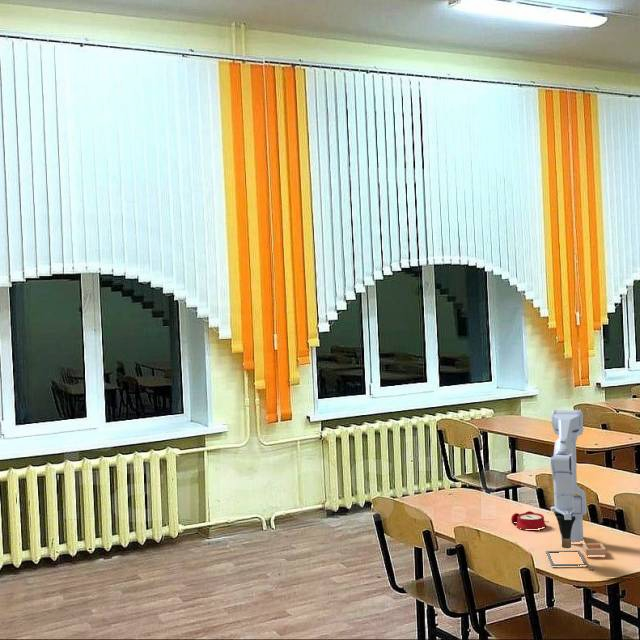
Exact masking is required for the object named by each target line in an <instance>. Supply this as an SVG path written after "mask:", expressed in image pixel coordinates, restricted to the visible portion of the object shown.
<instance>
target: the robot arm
mask: <svg viewBox="0 0 640 640" xmlns="http://www.w3.org/2000/svg"><path fill="white" fill-rule="evenodd" d="M551 426H552V427H551V428H552V429H553V432H554V435H557V436H558V439H556V440H555V442H554V446H553V447H554V448H553V455H552V456H551V457H550V471H551V474H552V475H551V476H552V477H551V479H552V480H553V500H554V501H553V503H554V506H551V507H550V510H551V511H552V512H553V511H554V512H553V514H554V516H555V518H556V521H557V523H558V528H559V532H560V534H561V533H562V537H563V539H570V536H571V542H573V543H574V542H580V541H583V538H584V524H583V523H584V521H583V519H584V518H583V516H585V515H586V514H587V498H586V495H587V494H586V491H584V490H583V489H582V488H581V487H580V486H578V483H577V482H578V481H577V480H578V479H577V478H578V477H577V476H578V475H577V440H578V437H579V436H582V435H583V432H584V412H583V410H582V409H570V410H569V409H567V410H566V409H564V410H563V409H553V410H552V411H551ZM561 540H562V538H561Z"/></svg>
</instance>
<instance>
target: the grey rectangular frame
mask: <svg viewBox="0 0 640 640" xmlns="http://www.w3.org/2000/svg"><path fill="white" fill-rule="evenodd" d="M559 552H578V554H579V556H580V557H581V559H582V561H583V563H584V564H554V563H553V561H552V559H551V556H550V554H549V553H559ZM546 554H547V555H546ZM545 555H546V557H547V556H548V558H547V560H548V559H549V560H548V562H549V561H550V563H549V564H551V565H550V567H551V566H578V565H579V566H580V565H588V562H587V561H586V559H585V557H584V556H583V554H582V552H581V551H580V550H545Z"/></svg>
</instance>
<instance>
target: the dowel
mask: <svg viewBox="0 0 640 640" xmlns="http://www.w3.org/2000/svg"><path fill="white" fill-rule="evenodd" d="M560 536H561V538H562V544H561V548H563V549H571V548H572V545H571V536H570V539H563V537H562V533H560Z"/></svg>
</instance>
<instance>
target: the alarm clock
mask: <svg viewBox="0 0 640 640" xmlns="http://www.w3.org/2000/svg"><path fill="white" fill-rule="evenodd" d="M511 515H512V516H511V518H510V520H511V524H513V525H515V527H516V526H517V527H518V528H521V529H538V528H542V527H545V526H546V527H547V524H546V523H550V522H549V520H545V517H544V515H543V514H542V513H536V512H533V511H530V510H528V511H526V512H524V513H517V512H515V513H513V514H511ZM514 522H517V524H514ZM517 527H516V528H517ZM518 528H517V529H518ZM521 529H520V530H521Z"/></svg>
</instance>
